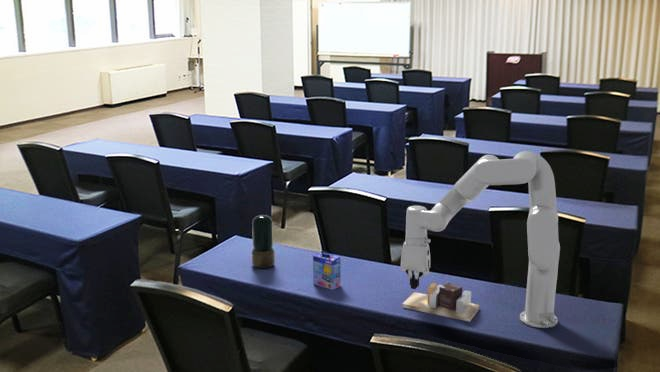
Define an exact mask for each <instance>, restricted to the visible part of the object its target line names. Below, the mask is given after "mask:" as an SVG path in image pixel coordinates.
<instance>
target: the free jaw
mask: <svg viewBox="0 0 660 372" xmlns="http://www.w3.org/2000/svg"><path fill="white" fill-rule="evenodd" d="M443 285H444V284H438V285H437V283H434V282H432V283H431V284H430V285H429V286H428V288H427V295H428V300H427V304H429V307H431V308H437V306H438V305H439V287H441V286H443Z"/></svg>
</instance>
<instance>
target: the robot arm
mask: <svg viewBox="0 0 660 372" xmlns="http://www.w3.org/2000/svg"><path fill="white" fill-rule="evenodd" d="M526 183H528V185H527V186H528V196H529V198H528V199H529V211H528V217H527V221H526V230H527V232H526V234H527V248H528V249H527V252H528V270H527V279H526V282H527V283H526V290H525V291H526V292H525V305H524V310H523V311H521V313H520V314H519V320H520V321H521V322H522V323H523V324H525V325H527V326H530V327H533V328H539V329H549V327H550V328H554V327H555V326H557V325H558V321H559V319H558V317H557V316H556V315H555V313H554V312H555V300H556V290H557V280H558V273H559V272H558V270H559V261H560V253H561V252H560V251H561V246H560V241H559V214H558V210H557V209H558V208H557V207H558V206H557V195H556V194H557V193H556V182H555V175H554V172H553V169H552V168H551V165H550V164H549V163H548V161H547V160H546V159H545V158H544V157H543V156H541V155H539V154H538V153H535V152H534V151H529V150H528V151H527V150H524V151H519V152H518V153H516V154H515V155H514V156H513V158H504V159H499V158H498V157H497V156H496V155H493V154H485V155H483V156H481V157H480V158H479V159H478V160H477V161H475V163H474V164H473V165H472V166H471V167H470V168H469V169H468V170H467V171H466V172H465V173H464V174H463V175H462V176H461V177H460V178H459V179H458V180H457V181H456V182H455V184H453V186H452V188H451V189H450V190H449V191H448V192H447V193H446V194H445V195H444V196H443V197H442V198H440V200H439V201H438V202H437V203H435V205H434V206H433V207H432V208H431V210H428V209H427V208H426V207H425V206H422V205H411V206H408V207H407V208H406V216H405V240H404V242H403V243H402V247H401V248H402V249H401V255H400V257H401V258H400V271H402V272H405V274H406V275H407V276H408V278H409V286H410V289H412V290H416V289H417V288H418V287H419V286H420V278H421V277H422V276H428V275H430V268H431V252H430V245H429V244H430V243H431V239H430V238H428V231H431V232H442V231H444V230H445V229H446V228H447V226H448V224H449V223H450V221H451V220H452V218H454V216H455V215H457V214H458V212H459V211H461V209H462V208H464V207H465V206H466V205H467V204H469V203H472V202H473V201H475V200H476V199H477V198H478V197H479V196H480V195H481V194H482V193H483V192H484V191H485V190H486V189H487V188H488V187H489V186H503V185H504V186H505V185H521V184H526ZM556 324H557V325H556Z"/></svg>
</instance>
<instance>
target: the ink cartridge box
mask: <svg viewBox="0 0 660 372" xmlns="http://www.w3.org/2000/svg"><path fill="white" fill-rule="evenodd" d="M312 259H313V260H312V263H313V264H312V267H313V269H312V270H313V271H312V272H313V274H312V275H313V276H312V277H313V279H312V280H313V283H312V284H313V285H316V286H318V287H322V288H326V289H329V290H331V291H332V290H336V289H338V288H339V287H341V285H342V284H341V276H342V274H341V272H342V271H341V256H338V255H333V254H330V253H329V252H327V251H324V250H320V252H318V253H315V254H314V255H312Z"/></svg>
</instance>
